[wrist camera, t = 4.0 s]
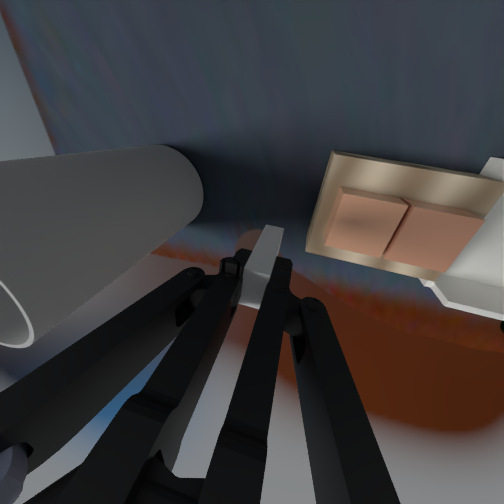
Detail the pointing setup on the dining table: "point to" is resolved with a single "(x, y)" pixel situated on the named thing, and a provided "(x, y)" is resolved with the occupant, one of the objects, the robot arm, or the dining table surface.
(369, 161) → the birch plate
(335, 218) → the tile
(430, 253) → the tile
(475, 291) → the box
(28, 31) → the dining table surface
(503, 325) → the soda can
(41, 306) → the cylinder vase
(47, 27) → the dining table surface
